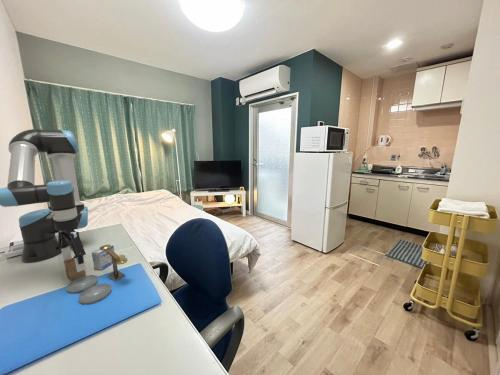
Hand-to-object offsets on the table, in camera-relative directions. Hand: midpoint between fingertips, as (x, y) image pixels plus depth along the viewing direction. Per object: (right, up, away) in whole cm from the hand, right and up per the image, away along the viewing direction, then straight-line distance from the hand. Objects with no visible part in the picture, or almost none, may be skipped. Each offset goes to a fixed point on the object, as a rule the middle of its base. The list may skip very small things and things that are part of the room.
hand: (74, 265), depth 89 cm
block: (0, -5, +1) cm, 5 cm away
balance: (+17, -5, +1) cm, 18 cm away
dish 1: (+7, -6, -4) cm, 10 cm away
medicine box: (+6, -4, +10) cm, 12 cm away
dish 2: (+16, -7, -10) cm, 20 cm away
